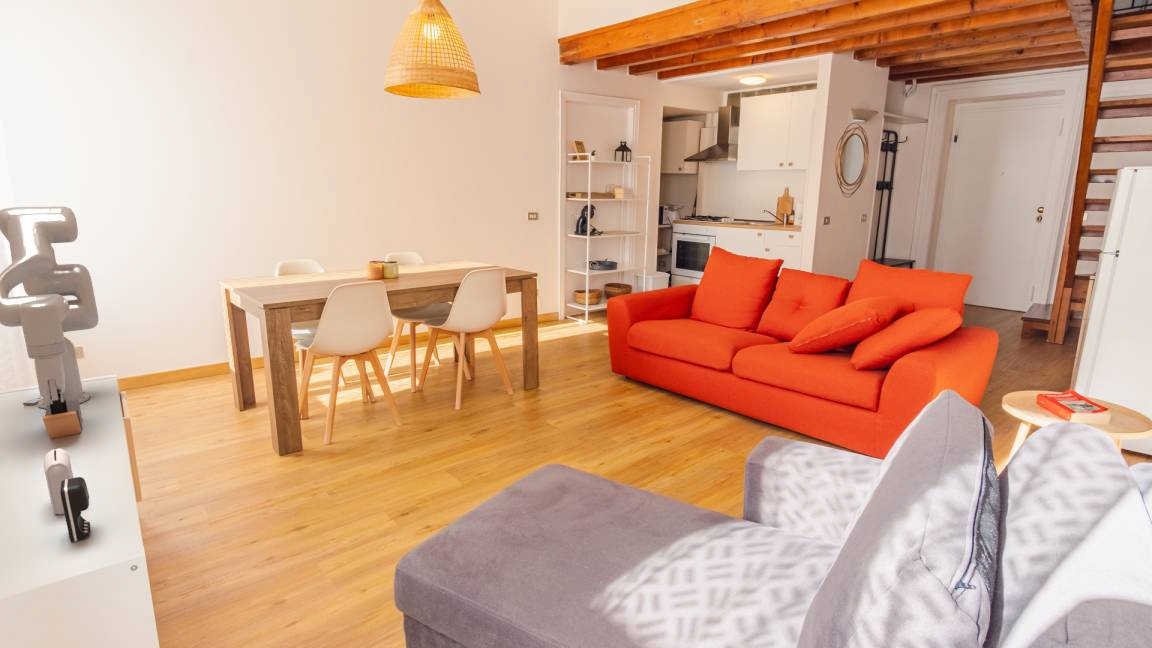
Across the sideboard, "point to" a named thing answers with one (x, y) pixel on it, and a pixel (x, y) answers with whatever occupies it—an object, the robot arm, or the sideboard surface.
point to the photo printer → (57, 475)
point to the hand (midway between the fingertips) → (60, 416)
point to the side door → (62, 424)
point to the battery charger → (75, 507)
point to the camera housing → (70, 410)
